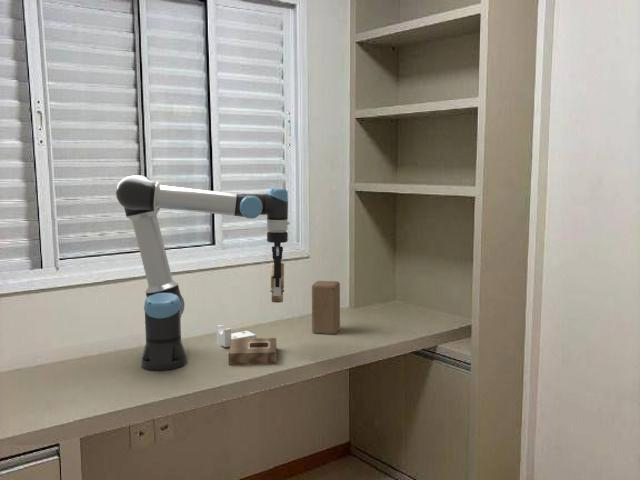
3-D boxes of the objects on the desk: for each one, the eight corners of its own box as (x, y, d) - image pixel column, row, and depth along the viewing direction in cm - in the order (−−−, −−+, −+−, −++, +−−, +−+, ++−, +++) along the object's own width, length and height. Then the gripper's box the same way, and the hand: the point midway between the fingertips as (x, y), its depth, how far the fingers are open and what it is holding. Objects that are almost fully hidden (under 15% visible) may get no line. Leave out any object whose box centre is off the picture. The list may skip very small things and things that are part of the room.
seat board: (228, 364, 211) (228, 353, 211) (232, 349, 229) (232, 338, 229) (275, 363, 212) (275, 352, 212) (276, 348, 230) (276, 337, 230)
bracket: (225, 349, 230) (224, 329, 229) (216, 345, 236) (216, 325, 235) (256, 343, 237) (255, 324, 236) (247, 339, 243) (247, 320, 242)
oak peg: (270, 302, 227) (270, 264, 225) (270, 300, 232) (270, 262, 230) (284, 302, 227) (284, 264, 226) (283, 299, 232) (284, 262, 231)
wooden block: (336, 334, 248) (335, 285, 246) (311, 333, 250) (311, 284, 248) (340, 328, 258) (340, 280, 256) (316, 327, 260) (316, 280, 258)
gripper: (288, 233, 218) (288, 299, 221) (286, 228, 236) (286, 289, 239) (267, 233, 217) (266, 299, 220) (267, 228, 235) (266, 289, 238)
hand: (277, 294), depth 229 cm, fingers closed on oak peg, 5 cm apart
